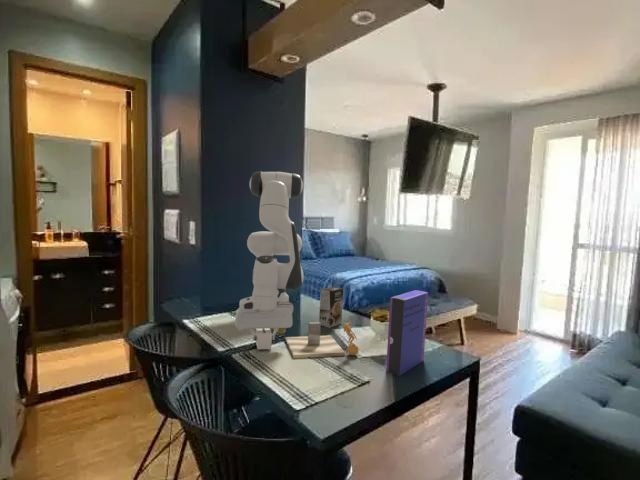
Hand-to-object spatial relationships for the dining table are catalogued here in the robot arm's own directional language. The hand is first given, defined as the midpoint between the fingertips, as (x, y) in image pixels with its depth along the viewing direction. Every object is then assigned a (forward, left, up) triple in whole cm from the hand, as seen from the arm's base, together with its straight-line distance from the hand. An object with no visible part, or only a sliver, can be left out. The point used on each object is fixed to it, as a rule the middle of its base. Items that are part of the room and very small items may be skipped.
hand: (263, 339), depth 137 cm
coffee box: (-25, +32, -3) cm, 41 cm away
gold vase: (-17, +7, -3) cm, 18 cm away
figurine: (+11, +29, -3) cm, 31 cm away
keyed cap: (0, 0, -2) cm, 2 cm away
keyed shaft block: (+2, +18, -3) cm, 18 cm away
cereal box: (+23, +44, -3) cm, 50 cm away
